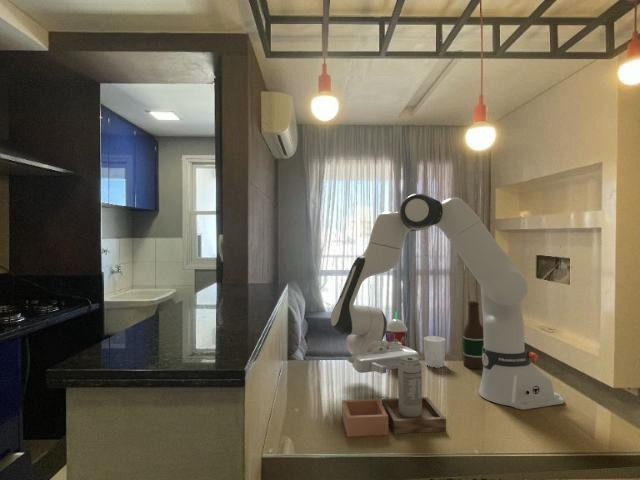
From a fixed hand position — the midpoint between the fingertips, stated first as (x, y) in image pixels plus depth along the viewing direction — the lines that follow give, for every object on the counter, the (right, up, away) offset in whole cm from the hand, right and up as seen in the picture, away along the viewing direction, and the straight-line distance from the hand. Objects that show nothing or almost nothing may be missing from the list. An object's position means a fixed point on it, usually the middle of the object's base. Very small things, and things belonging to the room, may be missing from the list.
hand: (399, 368), depth 104 cm
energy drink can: (+2, -11, -5) cm, 12 cm away
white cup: (+21, -12, +38) cm, 45 cm away
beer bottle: (+36, -12, +36) cm, 52 cm away
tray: (+2, -12, -6) cm, 13 cm away
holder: (-11, -12, -8) cm, 18 cm away
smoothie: (+7, -12, +39) cm, 41 cm away
